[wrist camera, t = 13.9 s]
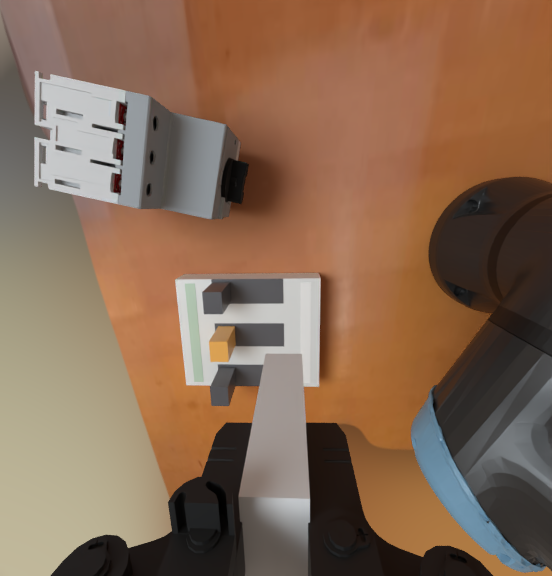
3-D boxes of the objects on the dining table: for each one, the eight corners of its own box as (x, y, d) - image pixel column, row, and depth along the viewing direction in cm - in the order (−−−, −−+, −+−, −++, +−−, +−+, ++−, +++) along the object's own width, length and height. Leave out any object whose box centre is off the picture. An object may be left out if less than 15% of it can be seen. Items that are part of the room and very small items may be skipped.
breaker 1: (229, 281, 36) (221, 292, 32) (230, 301, 37) (222, 314, 32) (212, 282, 36) (202, 292, 32) (214, 301, 37) (203, 314, 33)
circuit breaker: (248, 218, 37) (221, 226, 23) (132, 193, 37) (30, 185, 23) (260, 152, 35) (238, 115, 21) (138, 125, 35) (31, 70, 21)
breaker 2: (234, 367, 39) (227, 387, 35) (235, 384, 40) (228, 405, 35) (219, 367, 39) (210, 387, 35) (220, 384, 40) (211, 405, 35)
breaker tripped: (234, 326, 37) (227, 341, 33) (235, 344, 38) (228, 362, 34) (218, 326, 38) (208, 341, 33) (219, 344, 38) (210, 361, 34)
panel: (318, 272, 39) (320, 278, 36) (317, 374, 42) (318, 386, 39) (183, 274, 39) (175, 279, 37) (193, 373, 43) (186, 385, 40)
